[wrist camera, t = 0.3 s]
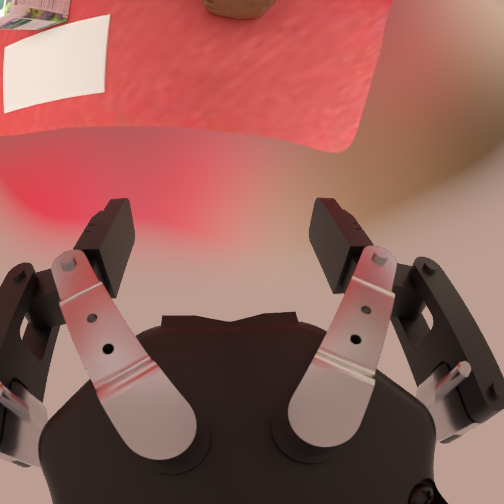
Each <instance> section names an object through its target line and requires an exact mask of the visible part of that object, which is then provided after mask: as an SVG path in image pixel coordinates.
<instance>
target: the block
mask: <svg viewBox="0 0 504 504" xmlns="http://www.w3.org/2000/svg"><path fill="white" fill-rule="evenodd" d="M203 1H204V5H205V7H206V9H207V10H208V11H209V12H210V13H213V14H216V15H220V16H225V17H230V18H236V19H248V18H259V17H261V16H262V15H263V14H264V13H265V12H266V11H267V10H268V9H269V8H270V7H271V5H272V4H273V3H274V2H275V0H203Z"/></svg>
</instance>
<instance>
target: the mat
mask: <svg viewBox="0 0 504 504" xmlns="http://www.w3.org/2000/svg"><path fill="white" fill-rule="evenodd" d="M110 22H111V15H110V14H109V15H104V16H99V17H94V18H90V19H85V20H81V21H77V22H73V23H70V24H66V25H63V26H59V27H56V28H53V29H50V30H47V31H44V32H41V33H38V34H36V35H33V36H30V37H28V38H25V39H23V40H20V41H18V42H16V43H13V44H11V45H9V46H7V47H5V53H4V74H3V94H4V113H8V112H11V111H14V110H18V109H21V108H25V107H29V106H32V105H36V104H41V103H45V102H49V101H54V100H59V99H64V98H69V97H75V96H81V95H88V94H95V93H103V92H105V91H106V65H107V50H108V39H109V30H110Z"/></svg>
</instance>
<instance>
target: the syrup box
mask: <svg viewBox="0 0 504 504" xmlns="http://www.w3.org/2000/svg"><path fill="white" fill-rule="evenodd" d="M70 2H71V0H0V29H21V30H41V29H45V28H48V27H51V26H54V25H57V24H60V23H63V22H66V21H68V15H69V8H70Z"/></svg>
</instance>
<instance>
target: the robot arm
mask: <svg viewBox="0 0 504 504" xmlns="http://www.w3.org/2000/svg"><path fill="white" fill-rule="evenodd" d="M309 239H310V242H311V244H312V247H313V249H314V251H315V253H316V256H317V257H318V260H319V262H320V264H321V267H322V269H323V271H324V274H325V276H326V278H327V281H328V283H329V285H330V288H331V290H332V292H333V294H338V293H339V294H340V293H344V297H343V299H342V301H341V303H340V306H339V308H338V310H337V312H336V314H335V316H334V319H333V321H332V323H331V325H330V327H329V329H328V331H327V332H326V331H325V330H323V329H321V328H319V327H316V326H314V325H311V324H308V323H304V322H299V321H298V319H297V316H296V312H282V313H264V314H260V315H257V316H253V317H249V318H245V319H241V320H237V321H232V322H226V321H220V320H215V319H210V318H205V317H200V316H162V323H161V326H157V327H154V328H151V329H148V330H146V331H143V332H142V333H140V334H138V335H136V336H135V335H134V334H133V332H132V331H131V329H130V328H129V326H128V325H127V323H126V321H125V320H124V318H123V317H122V315H121V314H120V312H119V311H118V309H117V307H116V305H115V304H114V302H113V301H112V299H111V298H116V297H117V294H118V290H119V287H120V283H121V280H122V277H123V274H124V271H125V267H126V265H127V262H128V259H129V256H130V253H131V250H132V247H133V245H134V240H135V231H134V225H133V219H132V213H131V208H130V202H129V200H128V198H120V199H111V200H110V201H109V203H108V204H107V206H106V207H105V209H104V211H100V212H98V213H97V214H96V215H95V216H93V217H92V219H91V220H90V222H89V223H88V226H86V228H85V230H84V232H83V233H82V235H81V237H80V238H79V240H78V241H77V243H76V245H75V247H74V248H73V250H69V251H66V252H64V253H62V254H61V255H59V256H58V257H57V258H56V259H55V260H54V261H53V263H52V266H51V269H48V270H44V271H40V272H37V273H36V272H35V270H34V268H33V266H32V264H30V263H21V264H18V265H17V266H15V267H14V268H12V269H11V270H10V271H9V272H8V274H7V275H6V277H5V279H4V281H3V283H2V284H1V287H0V458H1V459H4V460H6V461H9V462H12V463H15V464H17V465H19V466H22V467H30V466H34V467H37V468H40V469H42V471H43V473H44V476H45V478H46V481H47V484H48V487H49V490H50V494H51V497H52V501H53V504H448V503H447V502H446V501H445V499H444V498H443V497H442V496H441V494H440V493H439V491H438V490H437V488H436V486H435V482H434V473H433V462H434V451H435V444H436V443H438V442H440V443H444V444H445V443H449V442H451V441H453V440H455V439H457V438H459V437H460V436H462V435H464V434H466V433H467V432H469V431H471V430H472V429H474V428H476V427H477V426H479V425H480V424H482V423H484V422H485V421H487V420H488V419H489V418H491V417H492V416H494V415H495V414H497V413H498V412H499V411H501V410H502V409H504V378H503V375H502V373H501V371H500V369H499V366H498V364H497V362H496V360H495V358H494V356H493V354H492V352H491V350H490V348H489V346H488V344H487V342H486V340H485V338H484V336H483V334H482V333H481V331H480V329H479V327H478V325H477V324H476V322H475V320H474V318H473V317H472V315H471V313H470V312H469V310H468V308H467V307H466V305H465V303H464V302H463V300H462V298H461V297H460V295H459V294H458V292H457V291H456V289H455V288H454V286H453V285H452V283H451V281H450V280H449V279H448V277H447V276H446V274H445V273H444V271H443V270H442V268H441V267H440V266H439V265H438V264H437V263H436V262H434V261H433V260H431V259H429V258H426V257H418V258H416V259H415V261H414V263H413V265H412V266H408V265H403V264H398V263H397V260H396V258H395V256H394V255H393V254H392V253H391V252H389V251H388V250H386V249H385V248H382V247H379V246H374V245H373V243H372V242H371V240H370V239H369V237H368V236H367V235H366V233H365V232H364V230H362V228H361V227H360V225H359V224H358V222H357V221H356V219H355V218H354V217H353V216H352V215H351V214H349V213H348V212H347V211H345V210H342V208H341V207H340V206H339V204H338V203H337V202H336V200H335V199H333V198H317V199H316V200H315V203H314V208H313V213H312V218H311V223H310V227H309ZM426 305H427V307H428V309H429V310H430V312H431V314H432V316H433V327H432V329H431V330H430V329H429V327H428V325H427V323H426V321H425V319H424V317H423V315H422V311H423V310H424V308H425V307H426ZM24 316H25V317H26V319H27V320H28V324H27V327H26V330H25V333H24V336H23V339H22V340H21V337H20V327H21V324H22V321H23V319H24ZM389 320H391V322H392V324H393V326H394V329H395V331H396V333H397V335H398V338H399V340H400V343H401V345H402V348H403V350H404V353H405V355H406V357H407V360H408V363H409V366H410V368H411V371H412V373H413V376H414V379H415V382H416V385H417V387H418V389H417V393H416V397H414V396H413V395H411V394H410V393H409V392H407V391H406V390H404V389H403V388H402V387H401V386H399V385H398V384H396V383H395V382H394V381H392V380H391V379H390V378H388V377H387V376H386V375H384V374H383V373H382V372H380V371H379V370H378V369H376V368H377V364H378V361H379V358H380V355H381V351H382V348H383V344H384V340H385V337H386V333H387V329H388V324H389ZM63 324H67V327H68V329H69V332H70V335H71V337H72V340H73V342H74V344H75V347H76V349H77V351H78V354H79V356H80V358H81V360H82V362H83V365H84V367H85V369H86V370H87V373H88V375H89V377H90V379H89V381H87V382H86V383H85V384H84V385H83V386H82V387H81V388H80V389H79V390H78V391H77V392H76V393H75V394H74V395H73V396H72V397H71V398H70V399H69V400H68V401H67V402H66V403H65V405H64V406H62V408H61V409H59V410H58V411H57V413H55V414H54V416H52V418H51V419H50V420H49V421H48V420H47V411H46V409H45V406H44V405H43V398H44V392H45V386H46V381H47V376H48V372H49V367H50V363H51V358H52V354H53V350H54V346H55V343H56V339H57V335H58V332H59V328H60V325H63Z"/></svg>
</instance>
